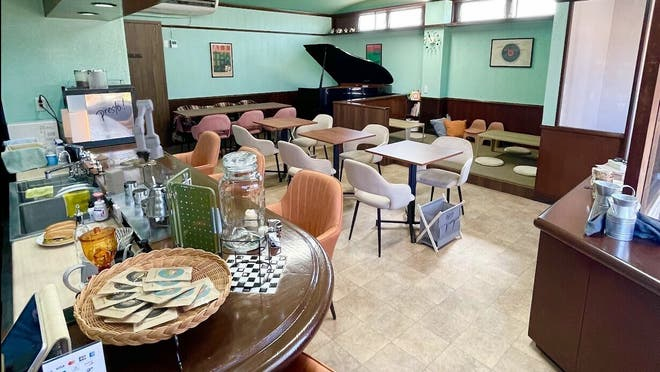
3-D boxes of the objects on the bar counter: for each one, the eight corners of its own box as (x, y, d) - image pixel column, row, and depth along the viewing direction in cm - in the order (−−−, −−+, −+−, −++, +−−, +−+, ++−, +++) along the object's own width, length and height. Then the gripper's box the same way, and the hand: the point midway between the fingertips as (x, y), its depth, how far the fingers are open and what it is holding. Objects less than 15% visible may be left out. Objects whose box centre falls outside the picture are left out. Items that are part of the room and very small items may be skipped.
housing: (146, 161, 294) (145, 154, 292) (150, 161, 292) (149, 155, 290) (138, 163, 288) (137, 157, 286) (142, 163, 286) (141, 157, 284)
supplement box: (121, 188, 237) (116, 168, 233) (128, 190, 233) (123, 169, 229) (108, 192, 231) (103, 171, 227) (115, 194, 227) (110, 173, 223)
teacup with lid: (96, 173, 275) (92, 156, 271) (97, 170, 282) (93, 153, 279) (116, 170, 279) (112, 153, 276) (116, 167, 287) (112, 151, 284)
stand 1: (134, 160, 303) (133, 158, 303) (143, 161, 299) (143, 159, 299) (120, 164, 293) (119, 162, 293) (129, 165, 289) (129, 163, 288)
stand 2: (147, 162, 297) (146, 160, 297) (156, 163, 293) (156, 160, 293) (133, 166, 287) (132, 164, 287) (143, 167, 283) (142, 165, 282)
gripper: (129, 143, 285) (132, 162, 289) (143, 144, 279) (147, 163, 283) (137, 141, 291) (141, 159, 295) (151, 142, 285) (155, 161, 289)
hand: (144, 161), depth 289 cm, fingers closed on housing, 4 cm apart
